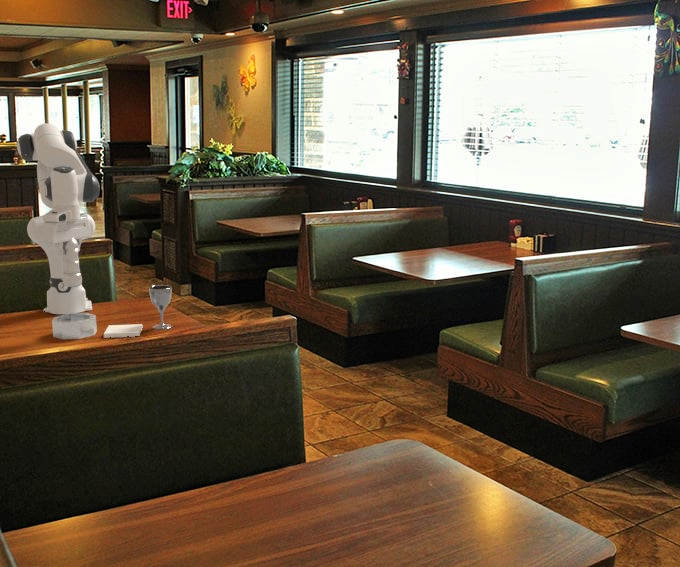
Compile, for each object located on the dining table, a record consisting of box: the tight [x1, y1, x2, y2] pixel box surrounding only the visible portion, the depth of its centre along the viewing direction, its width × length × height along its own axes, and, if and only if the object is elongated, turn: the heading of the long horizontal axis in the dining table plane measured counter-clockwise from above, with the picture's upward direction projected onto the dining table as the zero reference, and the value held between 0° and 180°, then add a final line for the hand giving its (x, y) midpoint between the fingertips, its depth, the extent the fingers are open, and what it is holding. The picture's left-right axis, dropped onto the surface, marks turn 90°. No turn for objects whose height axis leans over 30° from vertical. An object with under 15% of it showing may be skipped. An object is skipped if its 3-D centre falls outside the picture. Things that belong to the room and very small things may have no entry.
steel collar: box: [51, 312, 98, 340], centre depth 282 cm, size 14×14×6 cm
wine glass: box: [148, 284, 173, 330], centre depth 291 cm, size 8×8×15 cm
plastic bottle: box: [61, 238, 83, 287], centre depth 277 cm, size 6×7×20 cm
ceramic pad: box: [103, 323, 143, 339], centre depth 283 cm, size 12×12×2 cm
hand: (69, 253), depth 277 cm, fingers closed on plastic bottle, 6 cm apart
